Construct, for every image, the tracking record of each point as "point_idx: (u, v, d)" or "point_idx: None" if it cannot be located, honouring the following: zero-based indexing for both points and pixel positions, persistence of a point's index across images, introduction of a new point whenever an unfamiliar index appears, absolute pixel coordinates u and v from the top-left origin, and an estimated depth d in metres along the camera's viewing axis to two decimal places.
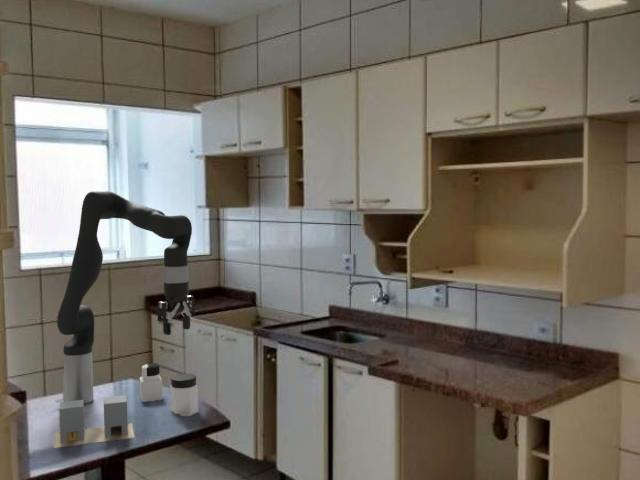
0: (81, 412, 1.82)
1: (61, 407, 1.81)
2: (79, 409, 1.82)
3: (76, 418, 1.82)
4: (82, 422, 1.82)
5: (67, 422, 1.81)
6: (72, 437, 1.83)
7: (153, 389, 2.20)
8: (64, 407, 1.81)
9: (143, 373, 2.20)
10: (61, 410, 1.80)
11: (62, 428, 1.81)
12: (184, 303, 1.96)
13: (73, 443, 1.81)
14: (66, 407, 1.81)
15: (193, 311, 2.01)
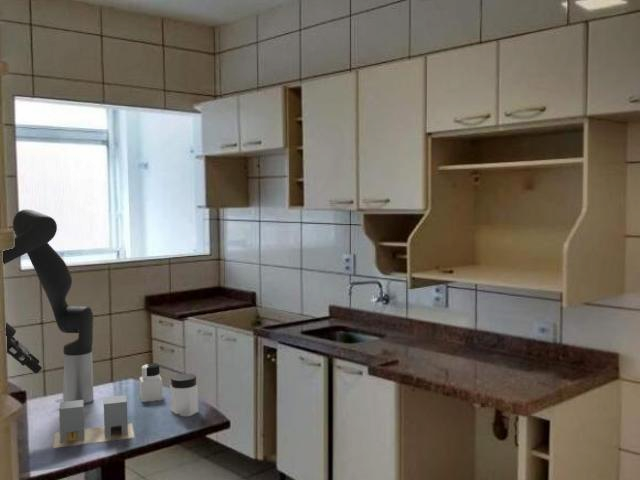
0: (81, 412, 1.82)
1: (61, 407, 1.81)
2: (79, 409, 1.82)
3: (76, 418, 1.82)
4: (82, 422, 1.82)
5: (67, 422, 1.81)
6: (72, 437, 1.83)
7: (153, 389, 2.20)
8: (64, 407, 1.81)
9: (143, 373, 2.20)
10: (61, 410, 1.80)
11: (62, 428, 1.81)
12: (8, 353, 1.75)
13: (73, 443, 1.81)
14: (66, 407, 1.81)
15: (21, 363, 1.72)
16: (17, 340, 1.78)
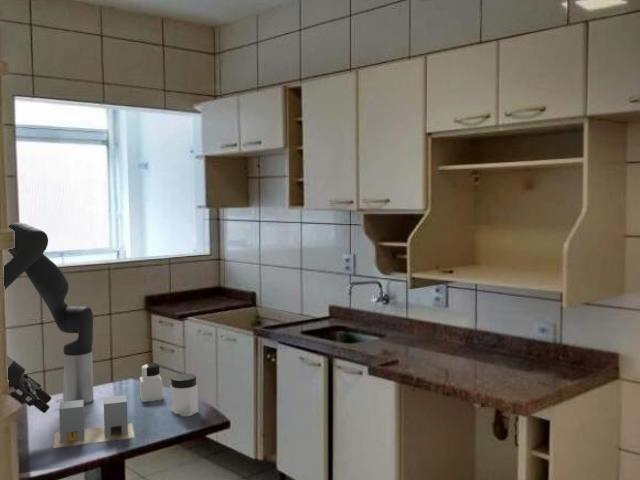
0: (81, 412, 1.82)
1: (61, 407, 1.81)
2: (79, 409, 1.82)
3: (76, 418, 1.82)
4: (82, 422, 1.82)
5: (67, 422, 1.81)
6: (72, 437, 1.83)
7: (153, 389, 2.20)
8: (64, 407, 1.81)
9: (143, 373, 2.20)
10: (61, 410, 1.80)
11: (62, 428, 1.81)
12: None
13: (73, 443, 1.81)
14: (66, 407, 1.81)
15: None
16: (27, 379, 1.80)
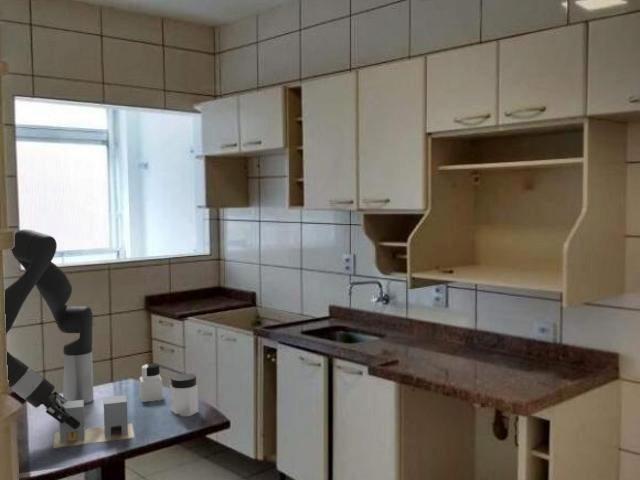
0: (81, 412, 1.82)
1: None
2: (79, 409, 1.82)
3: (76, 418, 1.82)
4: (82, 422, 1.82)
5: None
6: (72, 437, 1.83)
7: (153, 389, 2.20)
8: None
9: (143, 373, 2.20)
10: None
11: (62, 428, 1.81)
12: None
13: (73, 443, 1.81)
14: (66, 407, 1.81)
15: None
16: (56, 395, 1.83)
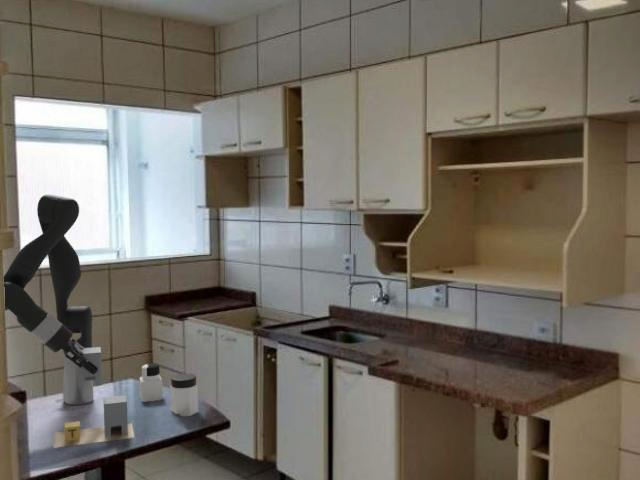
0: (99, 358, 1.87)
1: (79, 353, 1.87)
2: (97, 355, 1.87)
3: (94, 363, 1.87)
4: (100, 367, 1.88)
5: None
6: (72, 437, 1.83)
7: (153, 389, 2.20)
8: None
9: (143, 373, 2.20)
10: None
11: (80, 373, 1.86)
12: None
13: (73, 443, 1.81)
14: (84, 353, 1.87)
15: None
16: (74, 342, 1.89)
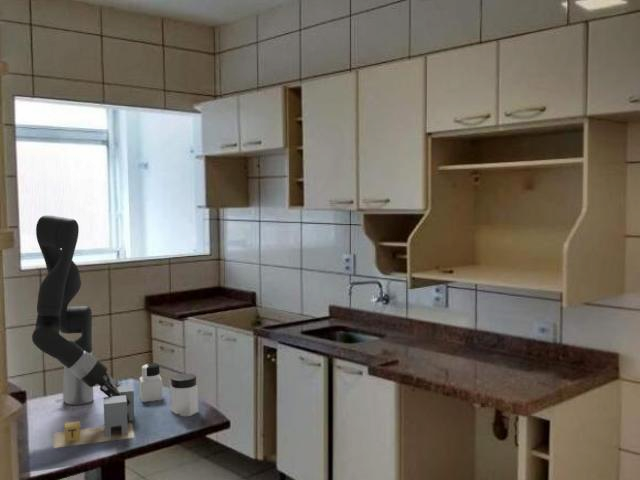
0: (132, 396, 1.99)
1: None
2: (130, 393, 1.98)
3: None
4: (133, 405, 1.99)
5: None
6: (72, 437, 1.83)
7: (153, 389, 2.20)
8: None
9: (143, 373, 2.20)
10: (114, 394, 1.97)
11: None
12: None
13: (73, 443, 1.81)
14: None
15: None
16: (109, 376, 2.00)
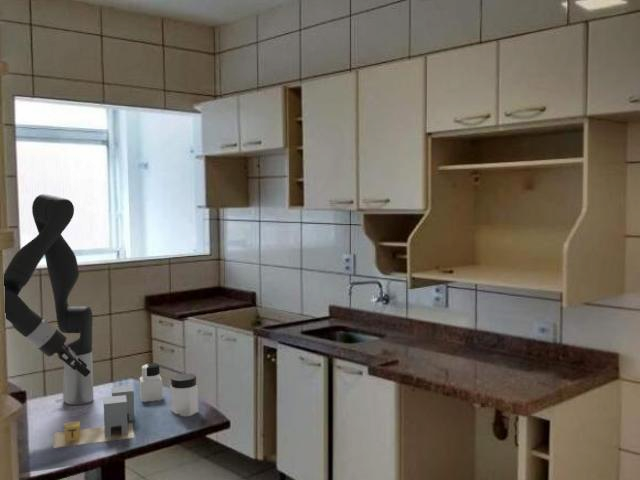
0: (132, 396, 1.99)
1: (113, 391, 1.98)
2: (130, 393, 1.98)
3: (127, 401, 1.98)
4: (133, 405, 1.99)
5: None
6: (72, 437, 1.83)
7: (153, 389, 2.20)
8: (116, 391, 1.98)
9: (143, 373, 2.20)
10: (114, 394, 1.97)
11: None
12: (60, 358, 1.92)
13: (73, 443, 1.81)
14: (118, 391, 1.98)
15: (72, 368, 1.89)
16: (67, 346, 1.95)
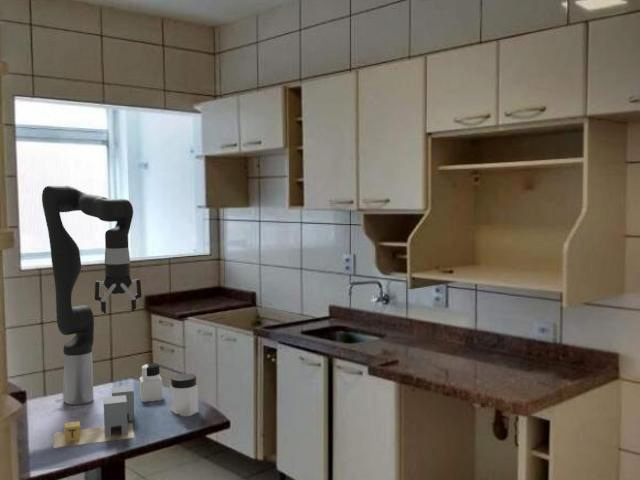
0: (132, 396, 1.99)
1: (113, 391, 1.98)
2: (130, 393, 1.98)
3: (127, 401, 1.98)
4: (133, 405, 1.99)
5: None
6: (72, 437, 1.83)
7: (153, 389, 2.20)
8: (116, 391, 1.98)
9: (143, 373, 2.20)
10: (114, 394, 1.97)
11: None
12: (122, 285, 2.01)
13: (73, 443, 1.81)
14: (118, 391, 1.98)
15: (139, 294, 2.04)
16: None
